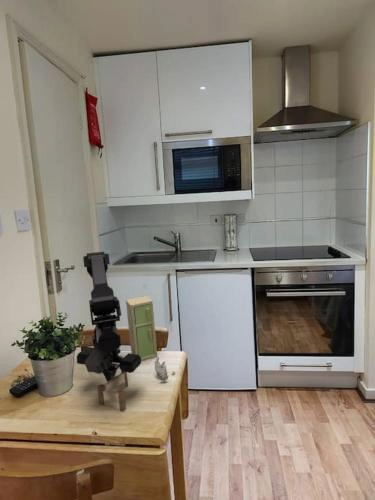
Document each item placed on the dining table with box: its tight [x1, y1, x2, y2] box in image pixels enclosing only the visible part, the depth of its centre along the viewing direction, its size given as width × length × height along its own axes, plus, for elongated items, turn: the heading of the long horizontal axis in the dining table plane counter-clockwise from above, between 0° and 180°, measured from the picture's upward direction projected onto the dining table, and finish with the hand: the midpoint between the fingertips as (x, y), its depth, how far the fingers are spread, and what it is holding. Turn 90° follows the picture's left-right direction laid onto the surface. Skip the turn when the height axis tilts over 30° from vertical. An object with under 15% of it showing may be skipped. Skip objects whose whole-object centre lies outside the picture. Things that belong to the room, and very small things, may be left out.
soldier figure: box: [154, 356, 176, 382], centre depth 112 cm, size 8×5×12 cm
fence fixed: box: [97, 384, 127, 412], centre depth 96 cm, size 9×2×6 cm, turn 61°
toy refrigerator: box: [125, 295, 158, 362], centre depth 123 cm, size 8×7×21 cm
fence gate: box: [103, 370, 129, 393], centre depth 102 cm, size 9×2×5 cm, turn 147°
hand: (110, 385), depth 104 cm, fingers closed
